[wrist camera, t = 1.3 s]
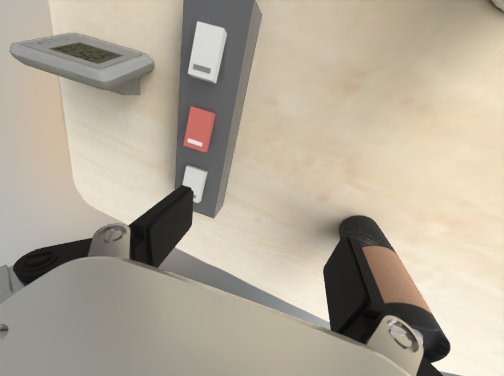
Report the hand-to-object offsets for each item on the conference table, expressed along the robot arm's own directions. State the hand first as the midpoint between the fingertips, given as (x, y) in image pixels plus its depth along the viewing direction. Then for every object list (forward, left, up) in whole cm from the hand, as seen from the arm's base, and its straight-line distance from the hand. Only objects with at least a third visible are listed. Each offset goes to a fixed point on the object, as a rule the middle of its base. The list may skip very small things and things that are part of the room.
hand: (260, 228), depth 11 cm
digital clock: (-4, -33, -25) cm, 42 cm away
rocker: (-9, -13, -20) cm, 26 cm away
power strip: (-2, -13, -25) cm, 28 cm away
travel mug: (+13, +20, -25) cm, 34 cm away
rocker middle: (+1, -13, -20) cm, 24 cm away
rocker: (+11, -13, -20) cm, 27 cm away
